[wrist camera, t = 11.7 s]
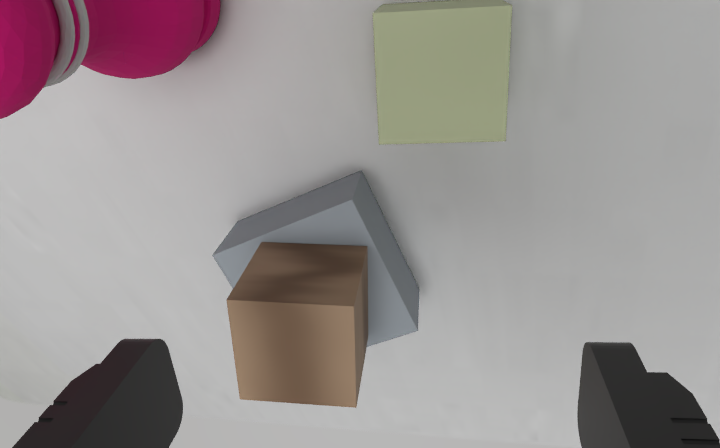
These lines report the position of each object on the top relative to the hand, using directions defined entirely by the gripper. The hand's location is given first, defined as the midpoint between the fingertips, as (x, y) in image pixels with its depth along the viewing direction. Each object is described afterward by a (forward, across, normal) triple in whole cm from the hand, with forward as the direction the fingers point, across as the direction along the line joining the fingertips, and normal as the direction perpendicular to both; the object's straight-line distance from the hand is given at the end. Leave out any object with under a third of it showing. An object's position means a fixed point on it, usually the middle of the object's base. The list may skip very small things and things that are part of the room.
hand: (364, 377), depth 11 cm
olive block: (+24, -1, -2) cm, 24 cm away
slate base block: (+24, +6, +10) cm, 27 cm away
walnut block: (+19, +6, +9) cm, 22 cm away
